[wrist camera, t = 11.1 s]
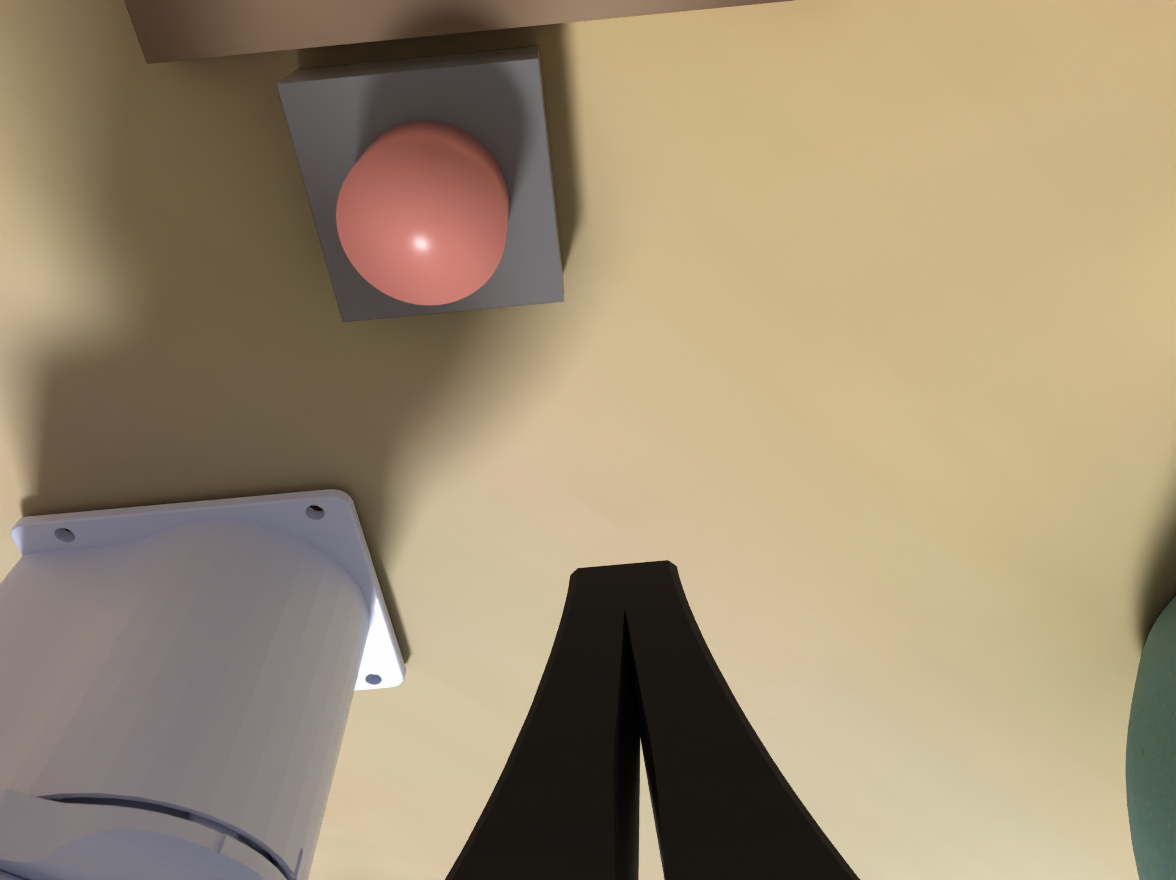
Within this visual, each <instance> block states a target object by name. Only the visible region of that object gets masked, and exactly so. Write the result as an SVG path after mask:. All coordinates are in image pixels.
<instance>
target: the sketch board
mask: <svg viewBox="0 0 1176 880" xmlns="http://www.w3.org/2000/svg"><path fill="white" fill-rule="evenodd" d="M124 1H125V3H126V6H127V9H128V12H129V15H130V17H131V20H132V23H133V26H134V29H135V31H136V34H137V37H138V40H139V43H140V45H141V48H142V51H143V54H144V56H145V59H146V62H147V64H149V63H159V62H169V61H179V60H190V59H200V58H210V57H220V56H230V55H241V54H251V53H261V52H271V51H282V50H292V49H302V48H312V47H322V46H333V45H343V44H353V43H363V42H374V41H384V40H394V39H404V38H414V37H425V36H435V35H445V34H455V33H465V32H476V31H486V30H496V29H506V28H517V27H527V26H537V25H547V24H557V23H568V22H578V21H588V20H598V19H609V18H619V17H629V16H639V15H649V14H660V13H670V12H680V11H690V10H701V9H711V8H721V7H731V6H741V5H752V4H762V3H772V2H782V1H792V0H124Z"/></svg>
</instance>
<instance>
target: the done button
mask: <svg viewBox="0 0 1176 880" xmlns="http://www.w3.org/2000/svg"><path fill="white" fill-rule="evenodd" d="M509 206H510V203H509V193H508V188H507V183H506V181H505V178H504V175H503V173H502V171H501V169H500V166H499V165H498V163H497V162H496V160H495V158H494V157H493V156H492V154H491V153H490V152H489V151H488V150H487V148H486V147H485V146H484V145H482V144H481V143H480V142H479V141H478V140H477V139H475V138H474V137H473V136H471V135H470V134H468V133H466V132H465V131H463V130H461V129H459V128H457V127H454V126H451V125H449V124H445V123H441V122H435V121H413V122H407V123H403V124H400V125H397V126H395V127H393V128H391V129H389V130H387V131H385V132H384V133H382V134H381V135H379V136H378V137H377V138H376V139H375V140H374V141H373V142H372V143H371V144H370V145H369V146H368V148H367V149H366V150H365V151H364V153H363V154H362V156H361V157H360V158H359V160H358V161H357V163H356V164H355V165H354V167H353V168H352V170H351V171H350V172H349V174H348V175H347V177H346V179H345V181H344V183H343V185H342V187H341V190H340V193H339V196H338V201H337V208H336V222H337V229H338V235H339V238H340V241H341V244H342V247H343V249H344V251H345V253H346V255H347V257H348V259H349V260H350V262H351V263H352V265H353V266H354V268H355V269H356V270H357V271H358V272H359V274H360V275H361V276H362V277H363V278H364V279H365V280H366V281H367V282H369V283H370V284H371V285H373V286H374V287H375V288H376V289H378V290H380V291H381V292H383V293H385V294H386V295H388V296H391V297H393V298H395V299H398V300H401V301H404V302H407V303H412V304H417V305H441V304H448V303H451V302H455V301H458V300H460V299H463V298H465V297H467V296H469V295H470V294H472V293H474V292H475V291H477V290H478V289H479V288H480V287H482V286H483V285H484V284H485V283H486V282H487V281H488V280H489V278H490V277H491V276H492V274H493V273H494V272H495V270H496V268H497V266H498V264H499V262H500V260H501V257H502V255H503V252H504V247H505V242H506V234H507V226H508V218H509Z"/></svg>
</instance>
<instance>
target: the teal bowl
mask: <svg viewBox="0 0 1176 880" xmlns="http://www.w3.org/2000/svg"><path fill="white" fill-rule="evenodd" d="M1126 790H1127V807H1128V815H1129V823H1130V831H1131V839H1132V845H1133V851H1134V856H1135V860H1136V865H1137V870H1138V875H1139V880H1176V596H1175V597H1174V598H1173V599H1172V600H1171V601H1170V602H1169V603H1168V605H1167V606H1166V607H1165V608H1164V610H1163V611H1162V612H1161V614H1160V615H1159V617H1158V618H1157V619H1156V621H1155V623H1154V625H1153V627H1152V629H1151V631H1150V633H1149V635H1148V638H1147V640H1146V643H1145V645H1144V648H1143V651H1142V655H1141V659H1140V663H1139V668H1138V673H1137V678H1136V683H1135V688H1134V694H1133V699H1132V704H1131V711H1130V719H1129V726H1128V735H1127V747H1126Z"/></svg>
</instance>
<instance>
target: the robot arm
mask: <svg viewBox="0 0 1176 880" xmlns="http://www.w3.org/2000/svg"><path fill="white" fill-rule="evenodd" d="M311 505H315V506H319V507H321V508H322V509H323V511H316V510H314V509H312V508H311V507H310V506H311ZM64 528H66V529H68V530H70V531H72V532H73V533H70V532H68V531H66V530H65V529H64ZM11 536H12V539H13V541H14V542H15V544H16V545H17V547H18V548H19V550H20V552H21V553H22V555H23V556H22V557H21V559H20V560H19V561H18V562H17V564H16V565H15V566H14V567H13V569H12V570H11V571H10V572H9V574H8V575H7V576H6V577H5V579H4V580H3V581H2V582H1V584H0V880H308V877H309V873H310V869H311V865H312V861H313V857H314V852H315V848H316V844H317V840H318V836H319V832H320V828H321V824H322V820H323V816H324V812H325V807H326V803H327V799H328V795H329V791H330V787H331V783H332V779H333V775H334V771H335V767H336V763H337V758H338V754H339V750H340V746H341V742H342V738H343V734H344V730H345V726H346V722H347V718H348V714H349V709H350V705H351V701H352V697H353V693H354V690H364V689H375V688H387V687H394V686H398V685H400V684H401V683H402V682H403V681H404V679H405V673H406V668H405V664H404V661H403V658H402V655H401V652H400V648H399V645H398V642H397V639H396V636H395V633H394V629H393V626H392V623H391V620H390V617H389V614H388V610H387V607H386V604H385V601H384V598H383V594H382V591H381V588H380V585H379V582H378V579H377V575H376V572H375V569H374V566H373V563H372V559H371V556H370V553H369V550H368V547H367V544H366V540H365V537H364V534H363V531H362V528H361V524H360V521H359V518H358V515H357V512H356V509H355V505H354V502H353V500H352V499H351V497H350V496H349V495H348V494H347V493H345V492H343V491H340V490H336V489H327V490H316V491H305V492H294V493H283V494H272V495H261V496H250V497H239V498H228V499H217V500H206V501H195V502H184V503H173V504H161V505H150V506H139V507H128V508H117V509H106V510H95V511H84V512H73V513H62V514H51V515H40V516H29V517H24V518H21V519H20V520H19V521H18V522H17V523H16V524H15V525H14V526H13V528H12V529H11ZM373 674H377V675H373ZM640 738H641V744H642V750H643V756H644V762H645V767H646V773H647V779H648V785H649V791H650V797H651V803H652V808H653V814H654V820H655V826H656V832H657V838H658V843H659V849H660V855H661V861H662V867H663V873H664V878H665V880H860V879H859V878H858V877H857V875H856V874H855V873H854V872H853V870H852V869H851V868H850V866H849V865H848V864H847V863H846V861H845V860H844V859H843V857H842V856H841V855H840V853H839V852H838V851H837V849H836V848H835V847H834V845H833V844H832V843H831V841H830V840H829V839H828V838H827V836H826V835H825V834H824V832H823V831H822V830H821V828H820V827H819V826H818V824H817V823H816V821H815V820H814V819H813V817H812V816H811V814H810V813H809V812H808V810H807V809H806V807H805V806H804V805H803V803H802V802H801V800H800V799H799V798H798V796H797V795H796V793H795V792H794V791H793V789H792V788H791V786H790V785H789V783H788V782H787V780H786V779H785V777H784V776H783V774H782V773H781V771H780V770H779V768H778V767H777V765H776V764H775V762H774V761H773V759H772V758H771V756H770V755H769V753H768V751H767V750H766V748H765V747H764V745H763V743H762V742H761V740H760V739H759V737H758V736H757V734H756V732H755V731H754V729H753V728H752V726H751V724H750V723H749V721H748V719H747V718H746V716H745V714H744V713H743V711H742V709H741V707H740V706H739V704H738V702H737V701H736V699H735V697H734V695H733V693H732V692H731V690H730V688H729V686H728V684H727V682H726V681H725V679H724V677H723V675H722V673H721V671H720V669H719V668H718V666H717V664H716V662H715V660H714V658H713V656H712V654H711V652H710V650H709V648H708V646H707V644H706V642H705V640H704V638H703V636H702V634H701V631H700V629H699V627H698V625H697V623H696V621H695V618H694V616H693V614H692V611H691V609H690V606H689V604H688V601H687V599H686V596H685V593H684V590H683V587H682V584H681V581H680V578H679V574H678V570H677V566H676V565H674V564H673V563H671V562H670V561H668V560H666V561H655V562H644V563H632V564H621V565H610V566H598V567H587V568H578V569H577V570H576V571H574V572H573V573H572V574H571V575H570V581H569V588H568V593H567V597H566V602H565V606H564V610H563V614H562V618H561V621H560V625H559V628H558V631H557V635H556V638H555V641H554V644H553V647H552V650H551V653H550V656H549V659H548V662H547V665H546V667H545V670H544V673H543V675H542V678H541V681H540V684H539V686H538V689H537V692H536V694H535V697H534V700H533V703H532V705H531V708H530V710H529V712H528V715H527V717H526V720H525V722H524V724H523V726H522V729H521V731H520V733H519V735H518V738H517V740H516V742H515V745H514V747H513V749H512V751H511V754H510V756H509V758H508V760H507V763H506V765H505V767H504V769H503V771H502V774H501V776H500V778H499V780H498V782H497V784H496V786H495V788H494V790H493V792H492V794H491V796H490V798H489V800H488V802H487V804H486V806H485V808H484V810H483V812H482V814H481V816H480V818H479V820H478V821H477V823H476V825H475V827H474V829H473V831H472V833H471V835H470V836H469V838H468V840H467V842H466V844H465V846H464V848H463V849H462V851H461V853H460V855H459V856H458V858H457V860H456V862H455V863H454V865H453V867H452V868H451V870H450V872H449V874H448V875H447V877H446V879H445V880H638V868H639V794H640Z"/></svg>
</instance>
